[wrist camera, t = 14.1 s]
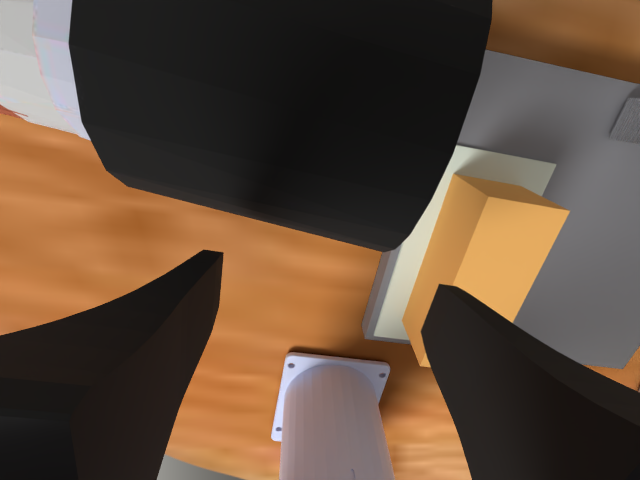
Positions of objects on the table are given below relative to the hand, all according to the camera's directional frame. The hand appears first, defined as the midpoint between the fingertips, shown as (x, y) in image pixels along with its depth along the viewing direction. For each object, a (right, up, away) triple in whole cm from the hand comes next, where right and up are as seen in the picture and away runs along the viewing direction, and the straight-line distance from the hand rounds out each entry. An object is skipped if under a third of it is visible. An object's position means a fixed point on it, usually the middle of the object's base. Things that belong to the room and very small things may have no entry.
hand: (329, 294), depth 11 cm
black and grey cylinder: (-13, +12, +6) cm, 19 cm away
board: (+14, +2, +11) cm, 18 cm away
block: (+8, +1, +10) cm, 13 cm away
